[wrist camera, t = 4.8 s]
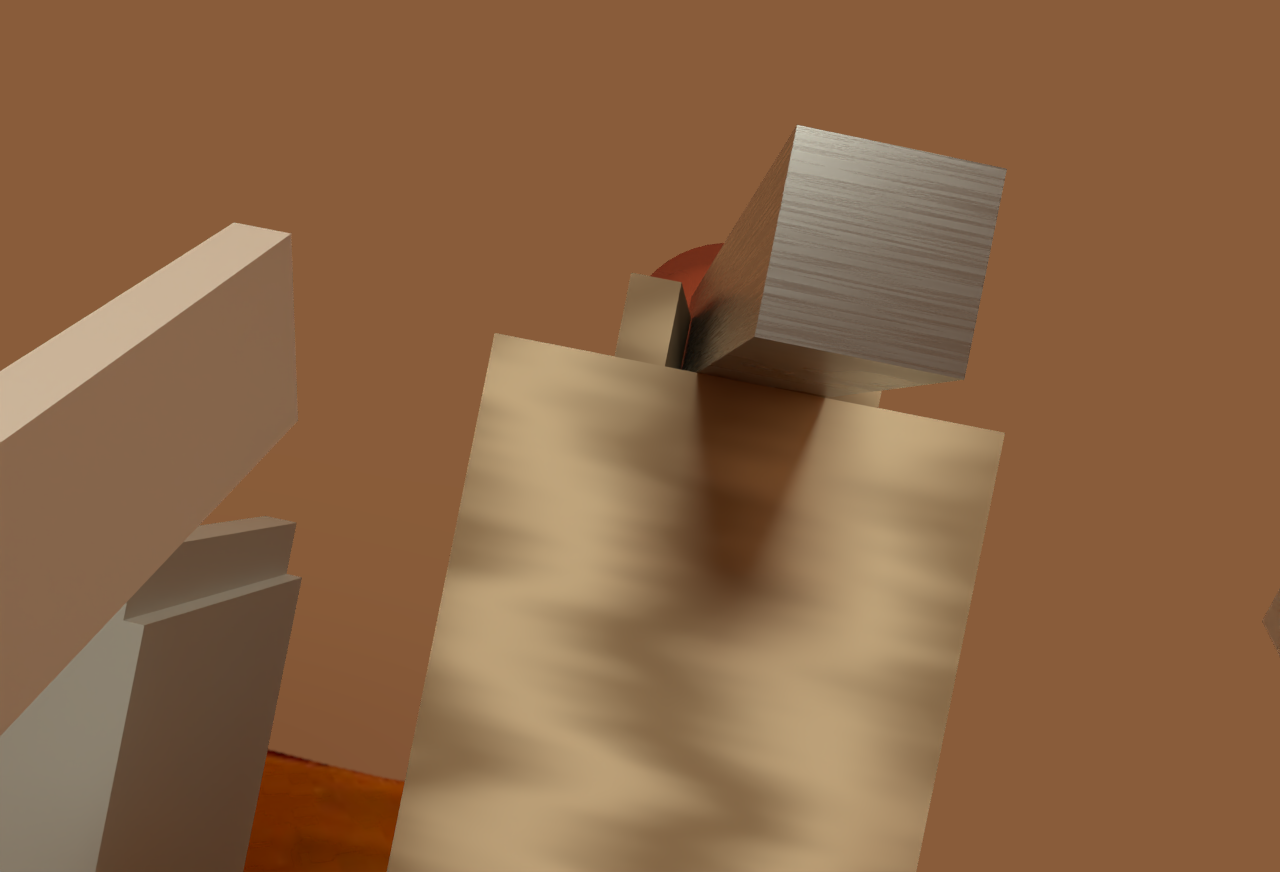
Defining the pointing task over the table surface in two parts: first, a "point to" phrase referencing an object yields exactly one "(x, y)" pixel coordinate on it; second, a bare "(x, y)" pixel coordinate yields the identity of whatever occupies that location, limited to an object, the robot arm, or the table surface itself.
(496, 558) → the beige patterned tall block
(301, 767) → the table surface
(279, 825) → the table surface
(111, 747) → the tall grey block
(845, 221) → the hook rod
